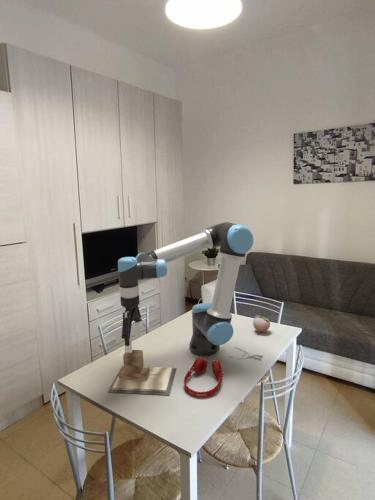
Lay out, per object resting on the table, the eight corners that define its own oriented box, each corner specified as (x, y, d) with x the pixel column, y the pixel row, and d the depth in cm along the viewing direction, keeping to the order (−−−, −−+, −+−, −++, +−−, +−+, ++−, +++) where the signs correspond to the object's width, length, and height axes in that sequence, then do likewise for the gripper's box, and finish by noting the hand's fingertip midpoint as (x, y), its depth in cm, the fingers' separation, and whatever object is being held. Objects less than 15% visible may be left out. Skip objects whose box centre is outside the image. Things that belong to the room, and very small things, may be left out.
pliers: (235, 345, 166) (265, 352, 158) (235, 348, 166) (265, 355, 159) (228, 354, 157) (259, 361, 150) (228, 357, 157) (258, 365, 150)
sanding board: (176, 368, 148) (176, 365, 148) (169, 395, 129) (169, 392, 129) (122, 366, 151) (122, 363, 150) (107, 392, 132) (107, 389, 132)
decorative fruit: (250, 333, 181) (250, 316, 179) (255, 327, 187) (255, 311, 185) (266, 337, 176) (267, 319, 174) (271, 331, 183) (272, 314, 180)
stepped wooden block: (149, 373, 142) (148, 350, 140) (146, 380, 137) (145, 356, 135) (122, 372, 143) (120, 349, 141) (118, 379, 138) (117, 355, 136)
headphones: (195, 366, 149) (179, 398, 132) (194, 353, 147) (178, 384, 129) (227, 371, 144) (215, 406, 127) (226, 358, 142) (214, 391, 124)
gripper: (129, 285, 145) (132, 330, 150) (110, 307, 121) (114, 359, 126) (146, 285, 145) (148, 330, 149) (130, 307, 120) (134, 359, 125)
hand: (133, 343), depth 137 cm, fingers open, 13 cm apart
